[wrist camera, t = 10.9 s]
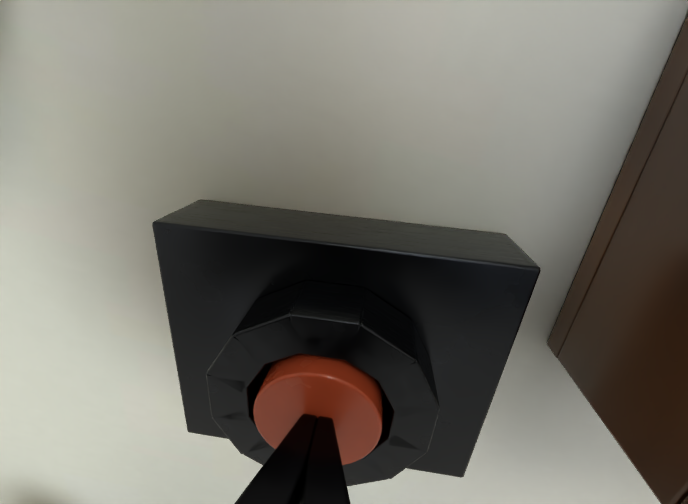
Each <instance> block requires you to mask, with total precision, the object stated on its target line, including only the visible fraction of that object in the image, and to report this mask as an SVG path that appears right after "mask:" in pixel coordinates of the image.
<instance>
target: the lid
mask: <svg viewBox="0 0 688 504" xmlns="http://www.w3.org/2000/svg"><path fill="white" fill-rule="evenodd" d="M681 504H688V496H687V497H686V498H685V499H684V500H683V501H682V503H681Z"/></svg>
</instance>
